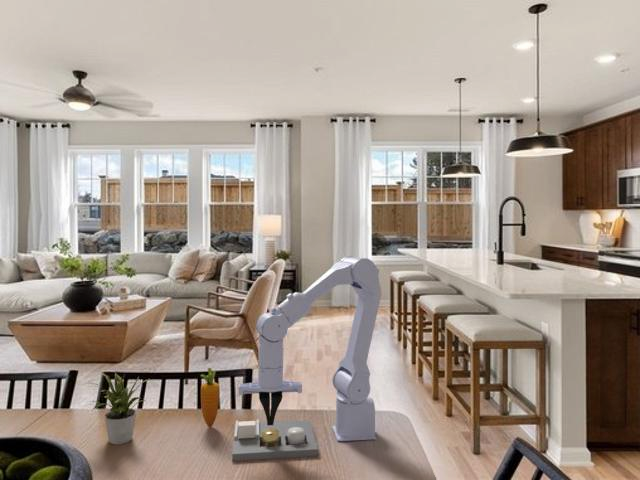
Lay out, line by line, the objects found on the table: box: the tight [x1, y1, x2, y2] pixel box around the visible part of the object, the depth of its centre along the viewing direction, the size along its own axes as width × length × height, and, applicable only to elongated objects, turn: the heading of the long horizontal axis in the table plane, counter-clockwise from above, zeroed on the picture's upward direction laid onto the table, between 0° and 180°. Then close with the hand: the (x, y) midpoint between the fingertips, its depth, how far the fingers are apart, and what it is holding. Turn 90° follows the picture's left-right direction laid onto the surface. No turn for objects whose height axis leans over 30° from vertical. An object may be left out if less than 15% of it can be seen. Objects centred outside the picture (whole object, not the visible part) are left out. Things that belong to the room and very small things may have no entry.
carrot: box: [200, 367, 220, 428], centre depth 119 cm, size 5×5×15 cm
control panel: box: [231, 419, 319, 462], centre depth 112 cm, size 19×16×2 cm
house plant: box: [86, 372, 150, 445], centre depth 112 cm, size 14×14×16 cm
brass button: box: [261, 429, 280, 447], centre depth 109 cm, size 4×4×2 cm
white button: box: [287, 427, 306, 446], centre depth 109 cm, size 4×4×2 cm
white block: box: [238, 420, 256, 439], centre depth 111 cm, size 4×2×3 cm, turn 98°
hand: (270, 423), depth 109 cm, fingers closed
